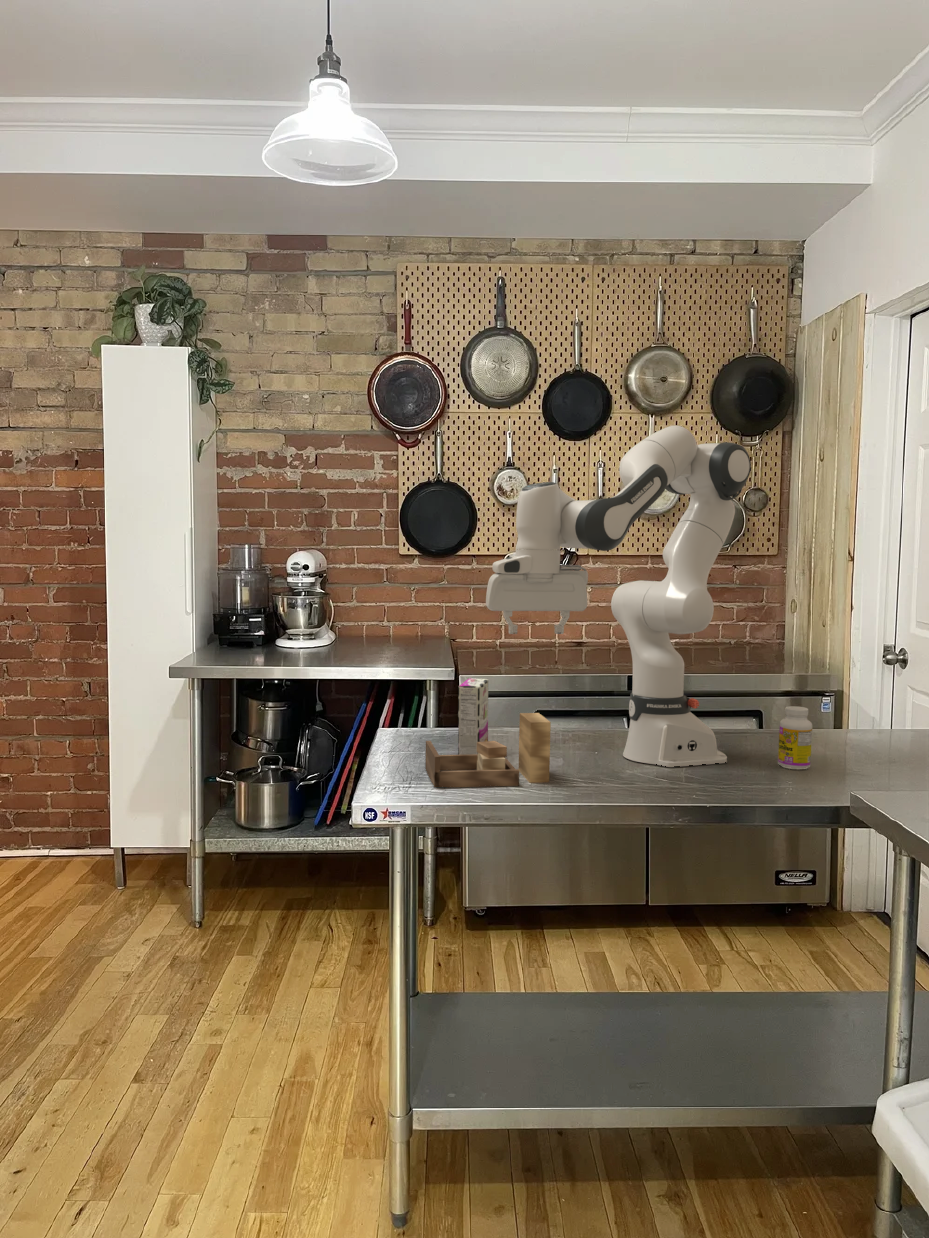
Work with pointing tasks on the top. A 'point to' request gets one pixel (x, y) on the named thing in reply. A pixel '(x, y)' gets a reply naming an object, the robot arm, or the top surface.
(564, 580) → the robot arm
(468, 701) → the candy bar box
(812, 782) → the top surface
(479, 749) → the offcut top
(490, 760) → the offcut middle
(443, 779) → the rack
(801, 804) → the top surface
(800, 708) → the supplement bottle
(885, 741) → the top surface
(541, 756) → the light brown wooden block
